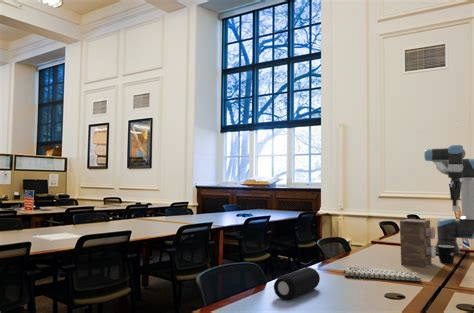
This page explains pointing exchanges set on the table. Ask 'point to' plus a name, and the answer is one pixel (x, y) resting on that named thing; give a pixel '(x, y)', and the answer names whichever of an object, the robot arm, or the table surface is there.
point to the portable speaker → (296, 283)
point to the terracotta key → (430, 232)
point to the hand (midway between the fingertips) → (455, 210)
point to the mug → (446, 254)
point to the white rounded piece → (431, 251)
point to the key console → (415, 243)
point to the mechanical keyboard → (381, 275)
